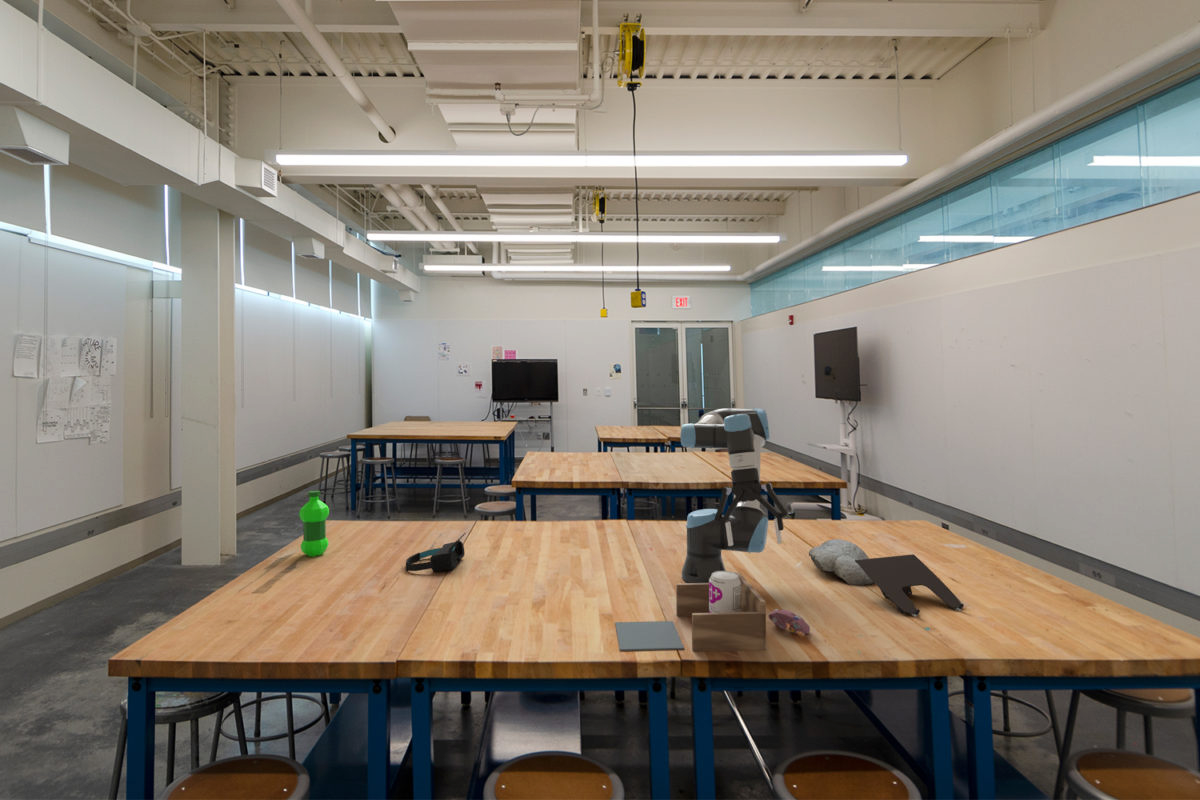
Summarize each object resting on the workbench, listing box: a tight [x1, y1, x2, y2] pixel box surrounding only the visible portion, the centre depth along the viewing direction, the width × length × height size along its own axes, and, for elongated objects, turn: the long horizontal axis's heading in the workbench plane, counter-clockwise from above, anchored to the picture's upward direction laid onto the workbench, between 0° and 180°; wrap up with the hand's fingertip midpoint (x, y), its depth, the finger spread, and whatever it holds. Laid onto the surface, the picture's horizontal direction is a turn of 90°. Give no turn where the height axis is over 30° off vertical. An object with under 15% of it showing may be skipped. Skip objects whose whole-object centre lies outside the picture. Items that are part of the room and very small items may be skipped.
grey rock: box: [808, 538, 874, 586], centre depth 197 cm, size 28×21×9 cm
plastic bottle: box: [298, 490, 330, 557], centre depth 218 cm, size 10×10×25 cm
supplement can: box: [709, 570, 741, 613], centre depth 148 cm, size 8×8×15 cm
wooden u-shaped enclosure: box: [675, 571, 767, 652], centre depth 148 cm, size 22×18×12 cm
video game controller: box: [768, 608, 811, 635], centre depth 148 cm, size 10×5×7 cm, turn 45°
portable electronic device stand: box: [855, 553, 964, 618], centre depth 169 cm, size 23×23×9 cm
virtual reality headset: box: [405, 532, 467, 573], centre depth 205 cm, size 19×22×10 cm
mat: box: [614, 620, 685, 652], centre depth 145 cm, size 16×16×1 cm
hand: (754, 544), depth 155 cm, fingers open, 13 cm apart
